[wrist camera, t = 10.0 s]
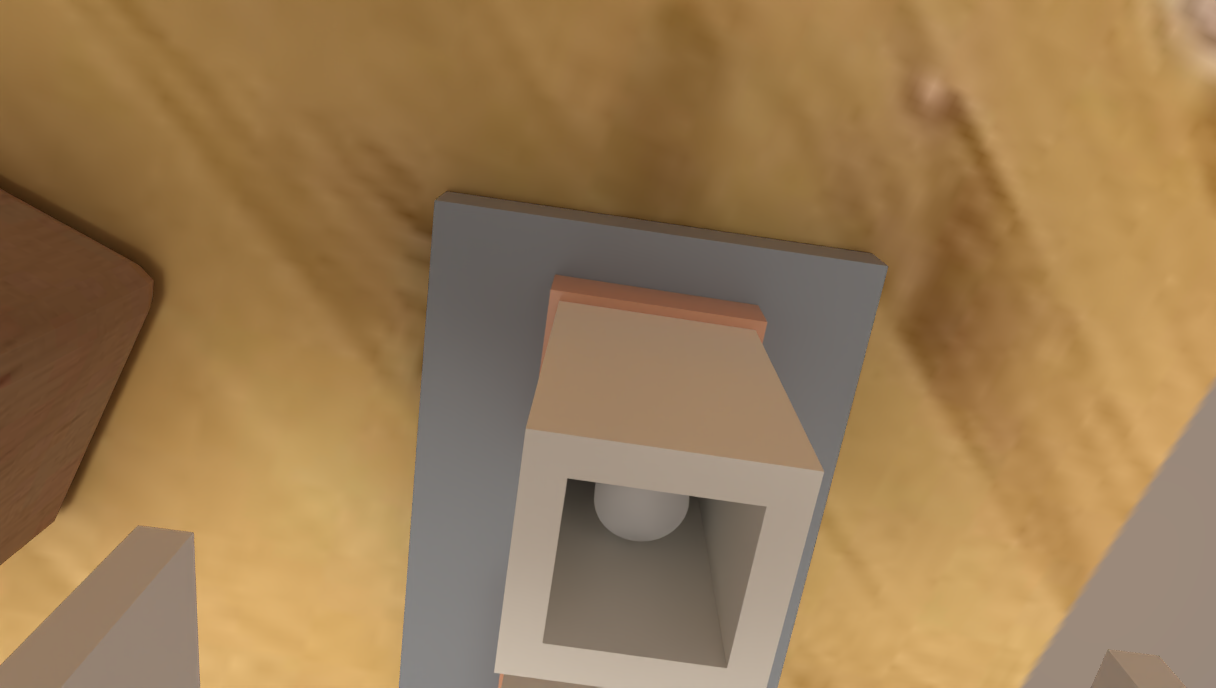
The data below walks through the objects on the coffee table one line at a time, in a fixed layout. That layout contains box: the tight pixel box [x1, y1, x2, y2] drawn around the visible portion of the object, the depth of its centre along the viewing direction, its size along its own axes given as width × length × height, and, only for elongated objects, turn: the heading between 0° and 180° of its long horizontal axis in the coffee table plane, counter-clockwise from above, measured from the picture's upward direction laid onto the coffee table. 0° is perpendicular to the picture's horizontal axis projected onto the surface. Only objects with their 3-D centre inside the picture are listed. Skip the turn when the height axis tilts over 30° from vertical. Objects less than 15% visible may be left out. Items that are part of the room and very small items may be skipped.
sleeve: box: [494, 275, 824, 688], centre depth 19 cm, size 6×6×9 cm
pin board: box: [399, 191, 888, 688], centre depth 22 cm, size 18×12×8 cm, turn 172°
